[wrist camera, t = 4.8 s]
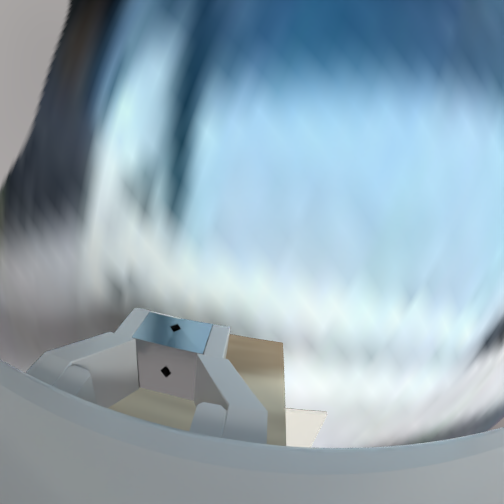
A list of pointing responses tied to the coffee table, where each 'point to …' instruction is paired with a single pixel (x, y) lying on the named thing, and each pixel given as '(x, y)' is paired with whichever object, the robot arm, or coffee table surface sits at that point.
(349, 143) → the coffee table surface
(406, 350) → the coffee table surface
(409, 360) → the coffee table surface
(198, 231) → the coffee table surface
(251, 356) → the block
